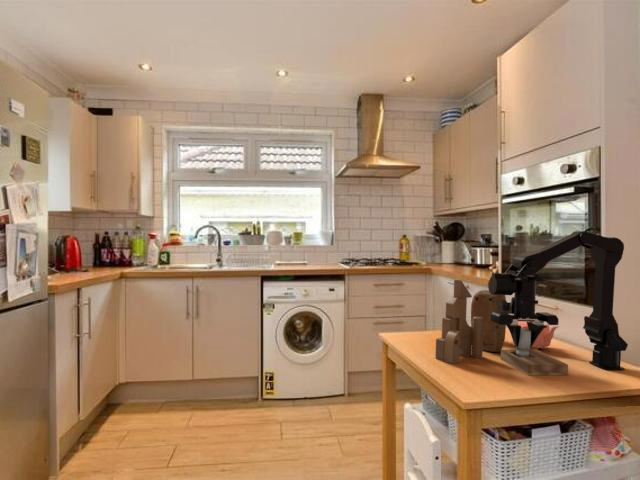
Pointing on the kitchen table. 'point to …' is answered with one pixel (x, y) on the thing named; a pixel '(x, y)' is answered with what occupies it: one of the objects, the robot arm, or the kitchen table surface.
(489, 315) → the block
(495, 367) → the kitchen table surface
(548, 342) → the teapot
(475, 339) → the wooden toy
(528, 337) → the peg
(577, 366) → the kitchen table surface
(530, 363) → the board
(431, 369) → the kitchen table surface
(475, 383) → the kitchen table surface
